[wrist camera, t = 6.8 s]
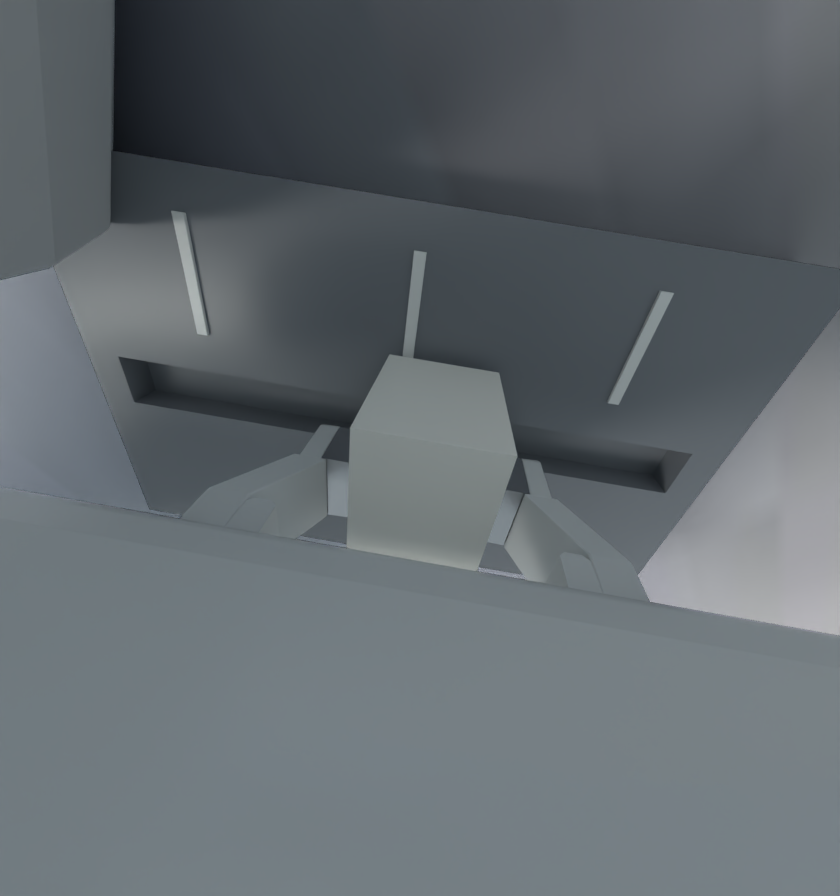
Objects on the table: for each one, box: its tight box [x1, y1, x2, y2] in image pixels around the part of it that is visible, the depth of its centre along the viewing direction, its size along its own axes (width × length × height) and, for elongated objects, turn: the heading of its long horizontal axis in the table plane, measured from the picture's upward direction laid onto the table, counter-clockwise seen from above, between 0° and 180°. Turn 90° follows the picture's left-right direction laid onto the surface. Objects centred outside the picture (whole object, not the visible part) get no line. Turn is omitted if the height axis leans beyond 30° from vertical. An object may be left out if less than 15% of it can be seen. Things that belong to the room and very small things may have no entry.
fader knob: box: [347, 354, 518, 571], centre depth 10 cm, size 5×3×5 cm, turn 172°
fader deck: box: [53, 151, 840, 575], centre depth 12 cm, size 12×20×2 cm, turn 82°
